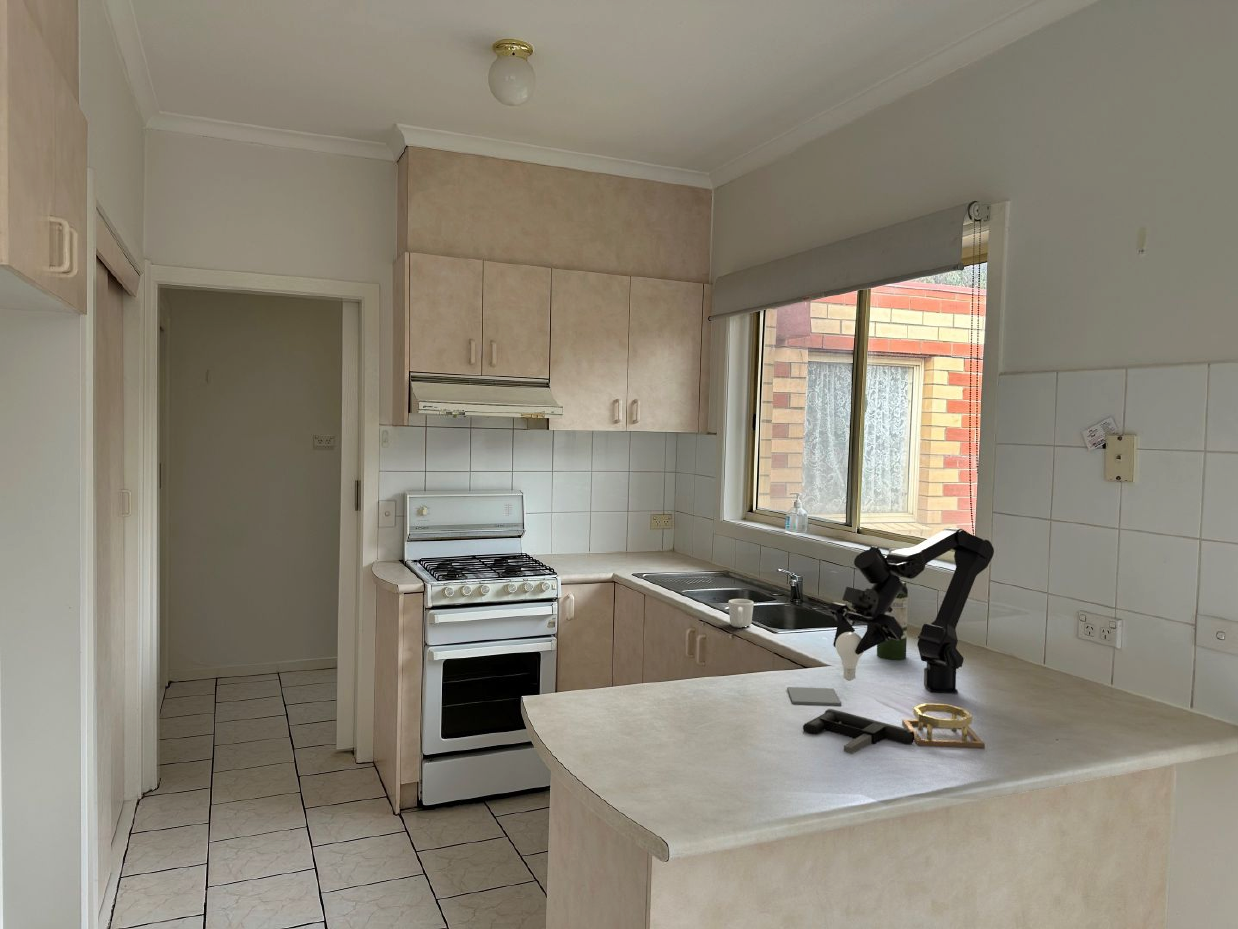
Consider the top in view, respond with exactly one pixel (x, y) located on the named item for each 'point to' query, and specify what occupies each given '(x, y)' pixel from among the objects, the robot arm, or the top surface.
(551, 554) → the top surface
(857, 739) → the door handle
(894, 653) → the wine bottle
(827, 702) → the mat
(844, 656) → the lightbulb
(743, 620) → the cup
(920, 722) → the ring stand
